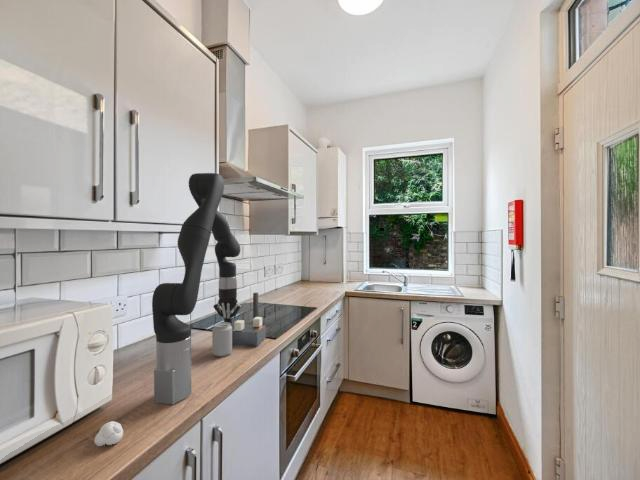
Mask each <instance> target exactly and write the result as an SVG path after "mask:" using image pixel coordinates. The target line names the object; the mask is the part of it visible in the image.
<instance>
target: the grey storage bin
mask: <svg viewBox="0 0 640 480" xmlns="http://www.w3.org/2000/svg"><path fill="white" fill-rule="evenodd" d="M266 329H267V327H266V325H263V324H262V326H260V327H253V324H250V323H247V324H246V323H244V329H243V330H241V331H236V330H234V328H232V346H239V347H241V346H242V347H255V348H257V347H259V346H260V345H261V344H262V343H263V342H264V341H265V340H264V339H265V338H267V337H266V336H267V332H266ZM263 340H264V341H263ZM262 341H263V342H262ZM261 342H262V343H261Z"/></svg>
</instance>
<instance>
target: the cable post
mask: <svg viewBox="0 0 640 480" xmlns="http://www.w3.org/2000/svg"><path fill="white" fill-rule="evenodd" d="M252 300H253V301H252V306H253V307H252V312H253V313H252V320H253V319H254V318H255V317H259V292H253V293H252Z"/></svg>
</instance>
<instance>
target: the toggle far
mask: <svg viewBox="0 0 640 480" xmlns="http://www.w3.org/2000/svg"><path fill="white" fill-rule="evenodd" d="M252 325H253V327H260V326H262V325H263V317H262V316H258V317H255V318H254V319H253V318H252Z"/></svg>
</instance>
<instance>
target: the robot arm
mask: <svg viewBox="0 0 640 480" xmlns="http://www.w3.org/2000/svg"><path fill="white" fill-rule="evenodd" d="M188 189H189V192H190V194H191V196H192V198H193V200H194V201H195V203H196V205H197V206H198V208H197V209H196V210H194V211H193V212H192V213H191V214H190V215H189V216H188V217H187V218H186V219H185V221H183V224H182V226H181V227H180V231H179V235H178V237H177V249H178V251H179V253H180V256H181V259H182V261H183V263H184V276H183V281H182V282H181V283H180V282H178V283H177V282H164V283H160V284H159V285H157V286H156V287H155V289H154V291H153V294H152V299H151V309H152V310H151V311H152V321H153V322H152V323H153V332H154V334H155V345H156V346H155V352H156V353H155V357H156V358H155V359H156V360H155V362H156V363H155V366H156V367H155V368H154V370H153V392H154V393H153V395H154V396H153V402H154V403H156V404H163V405H164V404H165V405H175V404H176V403H178V402H181V401H183V400H185V399H187V398H188V397H189V396H190V395H191V394H192V328H191V326H190V325H189V324H188V323H186V322H184V321H181V320H180V319H179V318H178V317H177V316H188V315H190V314H191V313H192V312H193V311H194V310H195V307H196V305H197V301H198V296H199V291H200V284H201V277H202V272H203V266H204V263H205V257H206V254H207V251H208V247H209V242H210V238H211V234H212V236H213V238H214V240H215V242H216V244H215V245H214V253H215V257H216V260H217V265H218V268H219V269H218V270H219V271H218V273H219V275H218V300H217V302H216V303H215V304H214V305H213V309H214V310H215V311H216V313H217V314H218V315H219V317H223V322H229V323H230V325H231V326H232V323H233V322H232V320H233V319H232V318H234V317H235V316H237V315H238V313H240V310H241V309H242V308H243V305H242V304H239V303H238V298H237V297H238V296H237V295H238V291H237V290H238V287H237V286H238V284H237V282H238V281H237V265H236V263H234V262H230V261H228V260H227V259H226V258H237V257H238V256H239V255H240V254H241V246H240V243H239V241H238V240H237V238H236V237H235V236H234V235H233V233H232V232H231V229H230V228H231V227H230V225H229V223H228V220H227V219H226V217H225V216H224V215H223V214H222V212H220V211H219V210H218V208H219V206H220V203H221V200H222V197H223V194H224V190H225V182H224V178H223V176H222V175H221V174H220V173H215V172H200V173H199V172H198V173H192V174H191V175H190V176H189V178H188Z"/></svg>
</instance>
